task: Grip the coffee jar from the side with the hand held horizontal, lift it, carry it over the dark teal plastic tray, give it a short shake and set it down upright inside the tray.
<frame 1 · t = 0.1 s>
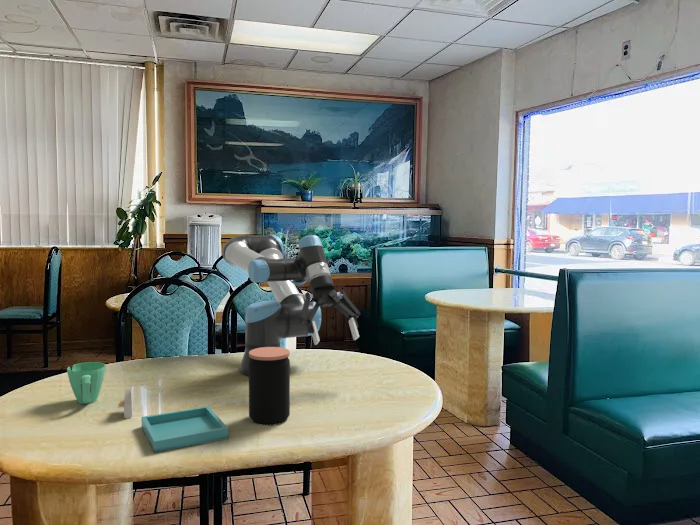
hand: (337, 340, 172), 15 cm above the table, tool tilted 35°, fingers open, 13 cm apart
coffee jar: (269, 419, 148), on the table
tray: (183, 432, 138), on the table
mug: (87, 404, 158), on the table
architectural model: (129, 417, 150), on the table
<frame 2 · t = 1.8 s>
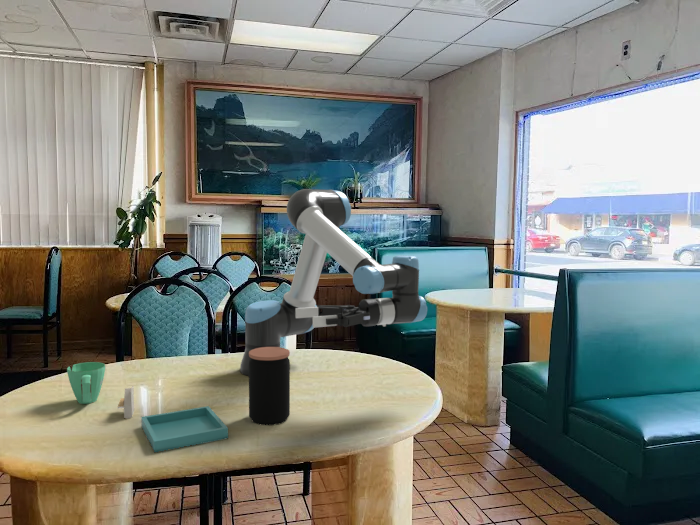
hand: (304, 317, 150), 26 cm above the table, tool horizontal, fingers open, 13 cm apart
nothing on the table moved.
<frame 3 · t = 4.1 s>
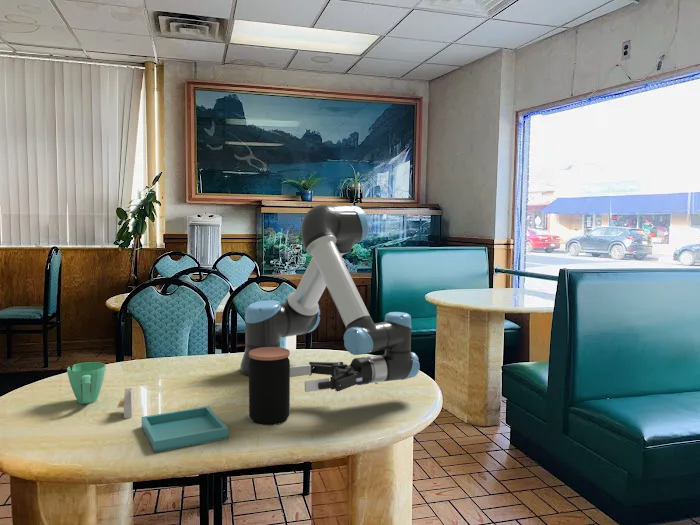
hand: (296, 379, 150), 10 cm above the table, tool horizontal, fingers open, 13 cm apart
nothing on the table moved.
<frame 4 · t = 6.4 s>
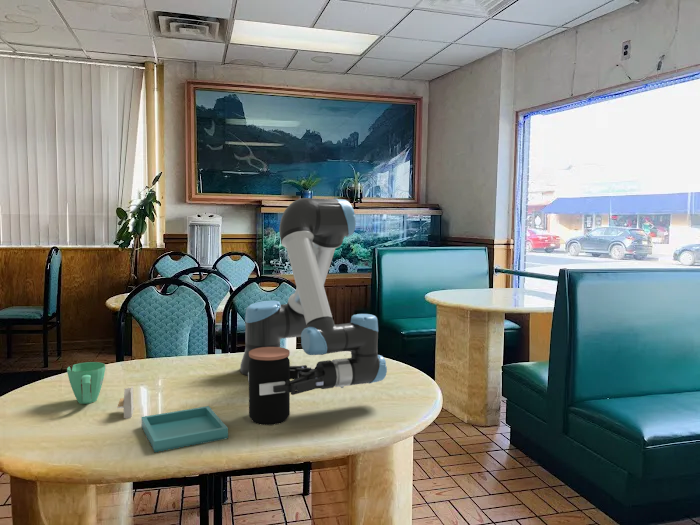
hand: (253, 383, 146), 10 cm above the table, tool horizontal, fingers closed on coffee jar, 11 cm apart
coffee jar: (269, 419, 148), on the table, touching gripper
everything else where it was.
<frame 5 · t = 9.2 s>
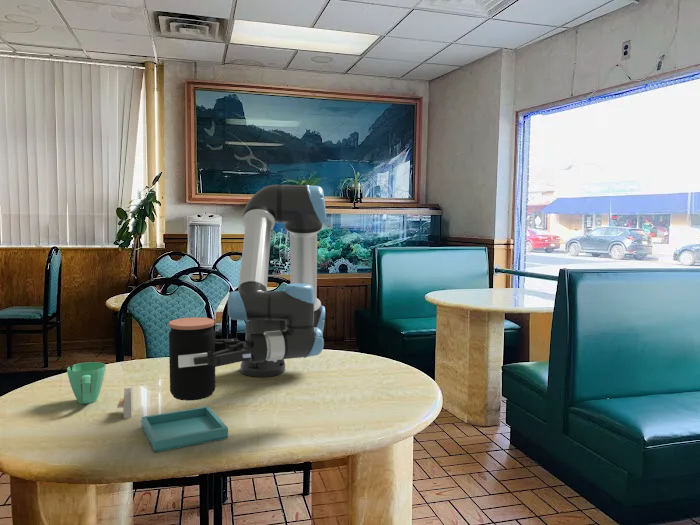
hand: (174, 355, 134), 20 cm above the table, tool horizontal, fingers closed on coffee jar, 11 cm apart
coffee jar: (193, 394, 137), point 10 cm above the table, touching gripper
everything else where it was.
when the fingers open (12 cm above the table, at t = 12.4 s): coffee jar drops 1 cm, resting on tray.
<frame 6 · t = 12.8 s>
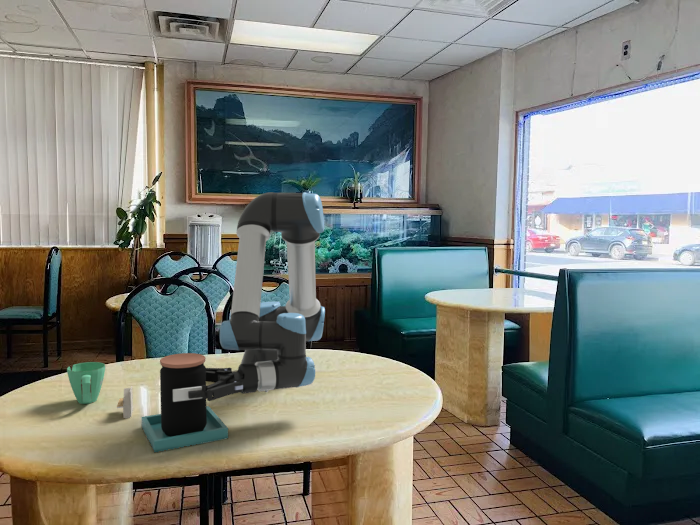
hand: (169, 387, 136), 12 cm above the table, tool horizontal, fingers open, 13 cm apart
coffee jar: (184, 431, 138), resting on tray
everything else where it was.
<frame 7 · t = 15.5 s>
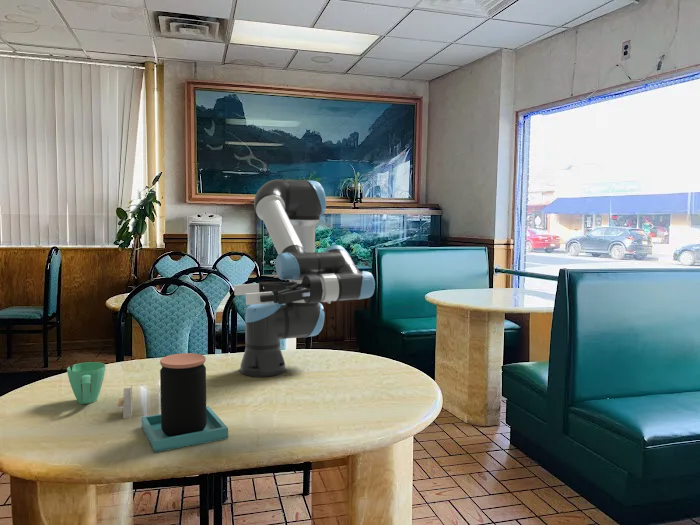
hand: (239, 294, 142), 33 cm above the table, tool horizontal, fingers open, 13 cm apart
nothing on the table moved.
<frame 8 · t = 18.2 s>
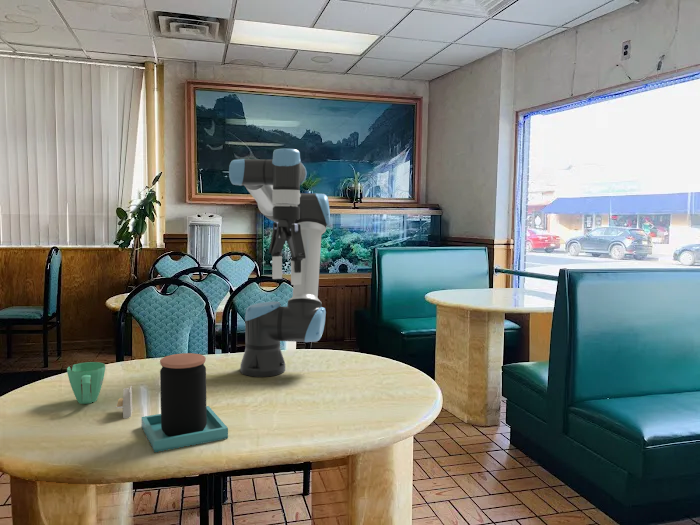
hand: (286, 281, 158), 35 cm above the table, tool pointing down, fingers open, 13 cm apart
nothing on the table moved.
at the end: coffee jar inside the target area on the tray (0.2 cm from its centre), point 0.4 cm above the tray's base; coffee jar tilted 0°; the gripper is holding nothing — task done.
